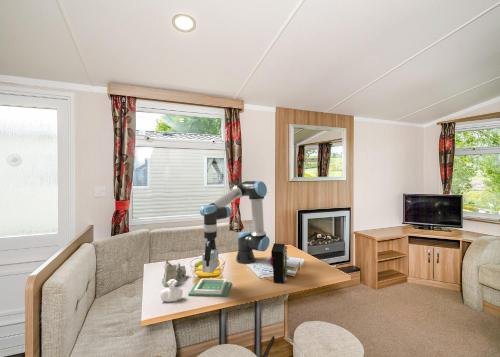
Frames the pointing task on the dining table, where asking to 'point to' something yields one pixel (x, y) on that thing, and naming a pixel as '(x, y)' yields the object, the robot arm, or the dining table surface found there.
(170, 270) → the ceramic cottage
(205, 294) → the board
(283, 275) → the electrical component
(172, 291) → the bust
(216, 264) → the light bulb box
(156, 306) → the dining table surface
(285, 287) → the dining table surface
